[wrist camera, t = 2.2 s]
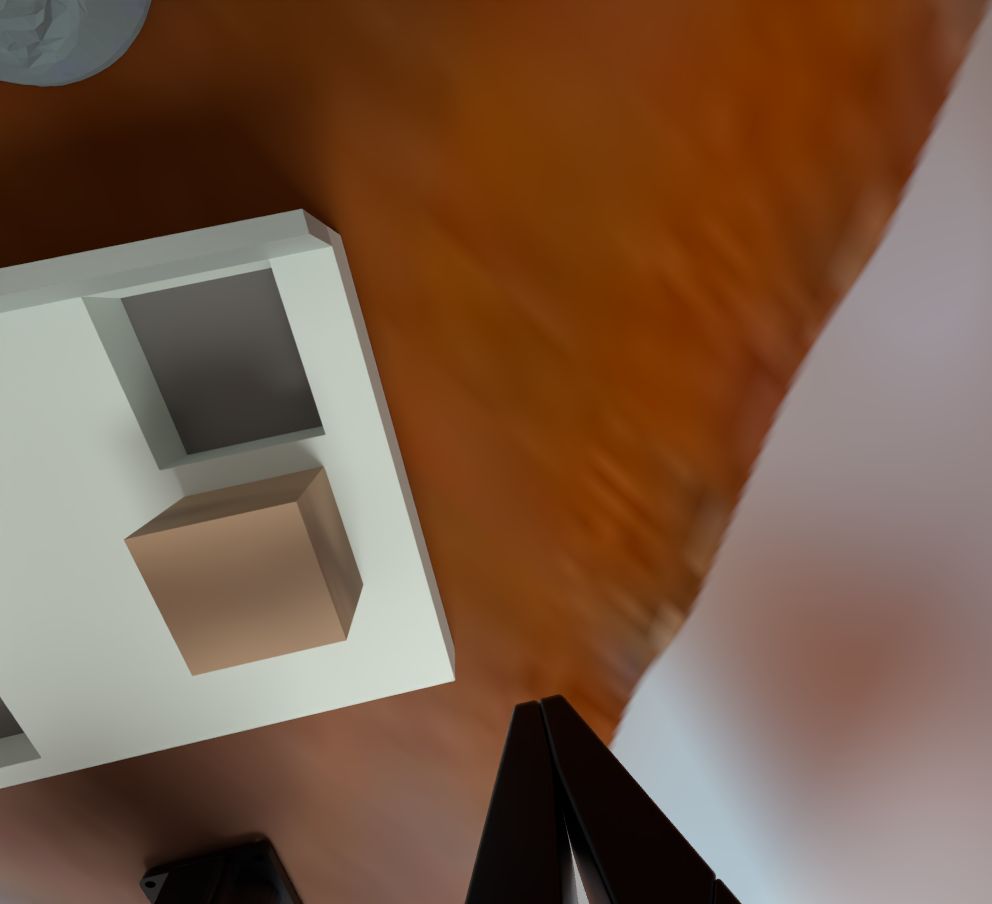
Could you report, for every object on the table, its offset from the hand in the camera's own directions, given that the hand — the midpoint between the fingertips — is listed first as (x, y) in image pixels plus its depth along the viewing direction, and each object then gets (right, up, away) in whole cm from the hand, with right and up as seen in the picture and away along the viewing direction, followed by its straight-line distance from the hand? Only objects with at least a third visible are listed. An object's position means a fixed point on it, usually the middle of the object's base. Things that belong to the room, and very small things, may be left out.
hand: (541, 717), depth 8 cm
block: (-9, +1, +9) cm, 13 cm away
